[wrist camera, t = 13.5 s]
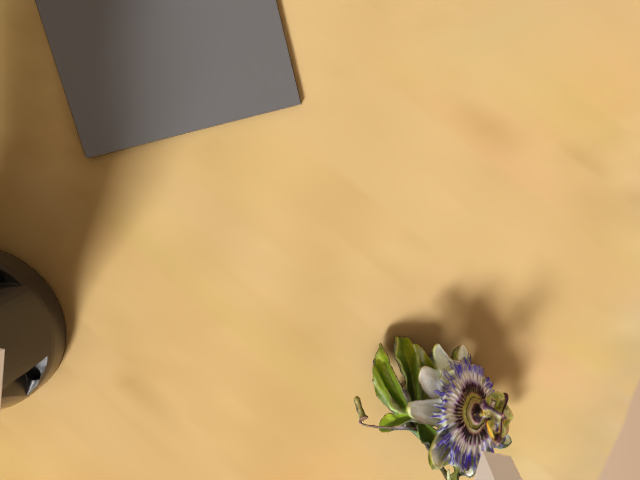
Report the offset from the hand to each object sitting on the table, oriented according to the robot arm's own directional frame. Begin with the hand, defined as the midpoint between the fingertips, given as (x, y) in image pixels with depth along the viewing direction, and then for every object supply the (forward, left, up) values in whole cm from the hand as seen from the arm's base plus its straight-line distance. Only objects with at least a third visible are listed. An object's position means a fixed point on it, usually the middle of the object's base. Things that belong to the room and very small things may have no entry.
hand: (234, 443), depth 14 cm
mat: (-8, +23, -32) cm, 40 cm away
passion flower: (+7, -17, -32) cm, 37 cm away
